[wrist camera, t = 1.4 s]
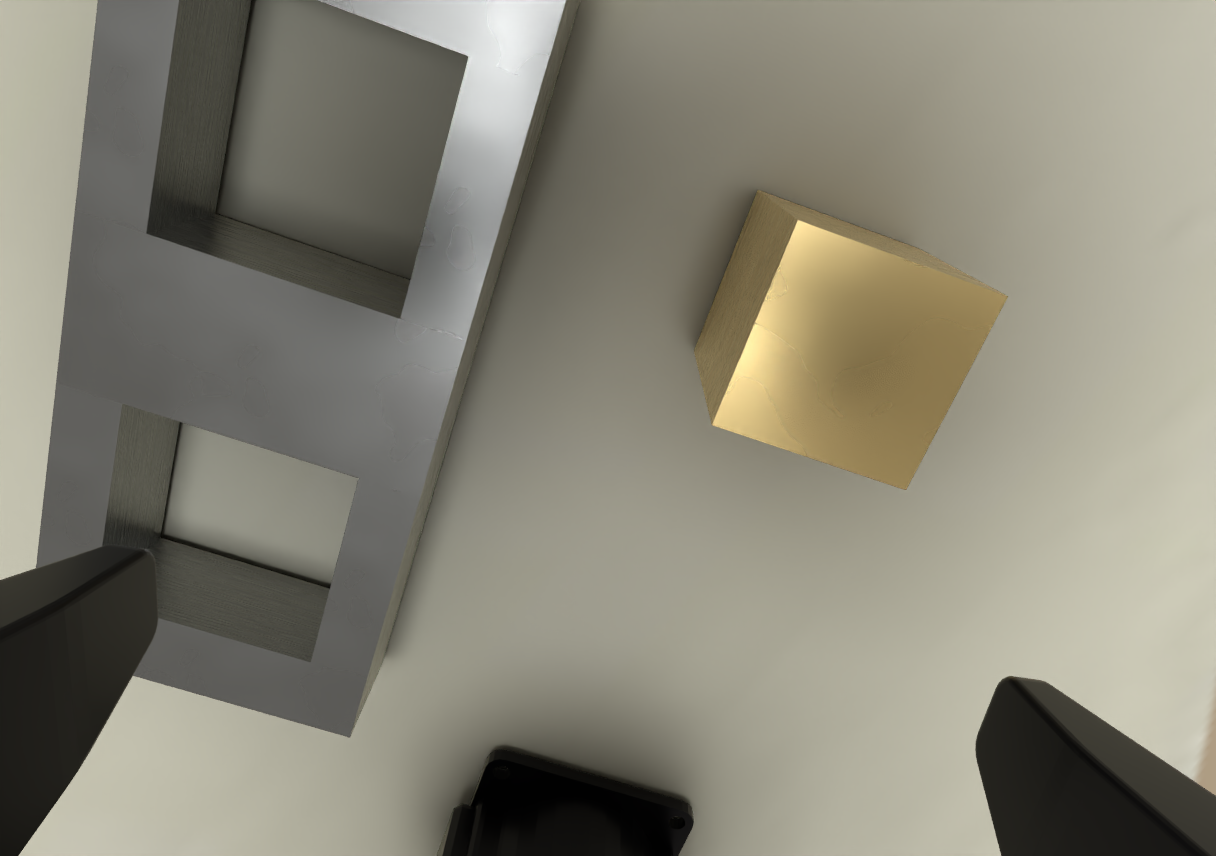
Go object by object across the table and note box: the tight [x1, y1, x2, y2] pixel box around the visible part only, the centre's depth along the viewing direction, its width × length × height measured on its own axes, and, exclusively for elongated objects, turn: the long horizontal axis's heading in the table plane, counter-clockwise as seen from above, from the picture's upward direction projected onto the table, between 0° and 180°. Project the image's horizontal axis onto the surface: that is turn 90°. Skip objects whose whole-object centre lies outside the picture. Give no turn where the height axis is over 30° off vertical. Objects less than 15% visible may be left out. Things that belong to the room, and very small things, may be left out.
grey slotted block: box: [36, 0, 581, 737], centre depth 19 cm, size 8×18×3 cm, turn 161°
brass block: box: [694, 190, 1008, 490], centre depth 18 cm, size 4×4×5 cm
